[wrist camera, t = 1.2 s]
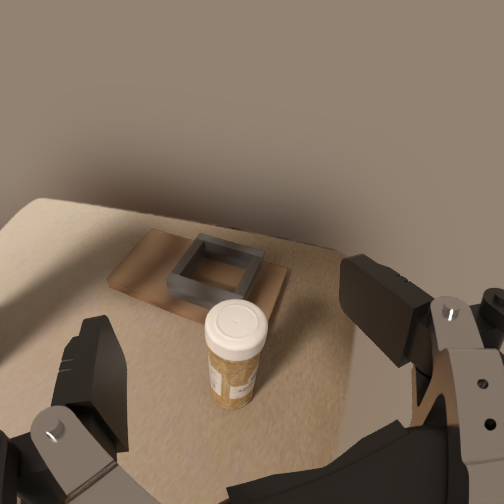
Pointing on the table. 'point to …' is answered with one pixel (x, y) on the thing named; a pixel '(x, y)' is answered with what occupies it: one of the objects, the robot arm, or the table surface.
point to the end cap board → (197, 274)
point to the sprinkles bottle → (234, 350)
